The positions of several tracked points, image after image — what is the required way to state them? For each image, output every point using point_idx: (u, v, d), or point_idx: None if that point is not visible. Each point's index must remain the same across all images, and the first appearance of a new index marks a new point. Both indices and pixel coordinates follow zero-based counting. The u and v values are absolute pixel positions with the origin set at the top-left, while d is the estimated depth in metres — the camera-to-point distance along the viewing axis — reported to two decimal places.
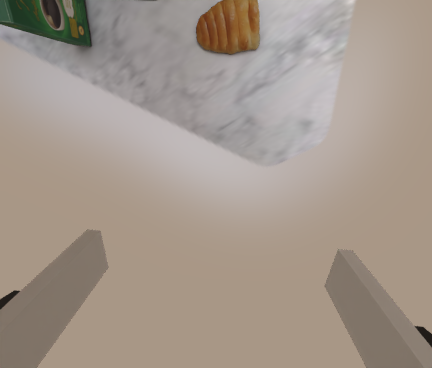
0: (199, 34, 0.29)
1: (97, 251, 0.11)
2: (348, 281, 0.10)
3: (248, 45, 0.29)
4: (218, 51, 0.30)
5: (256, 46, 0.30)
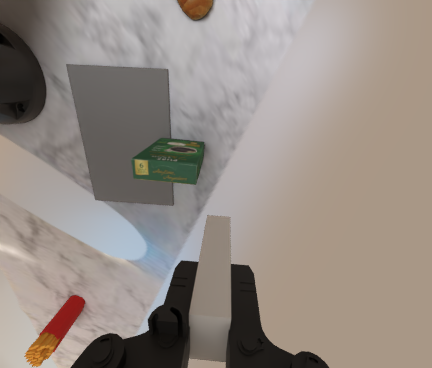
0: (199, 10, 0.27)
1: None
2: None
3: None
4: None
5: None
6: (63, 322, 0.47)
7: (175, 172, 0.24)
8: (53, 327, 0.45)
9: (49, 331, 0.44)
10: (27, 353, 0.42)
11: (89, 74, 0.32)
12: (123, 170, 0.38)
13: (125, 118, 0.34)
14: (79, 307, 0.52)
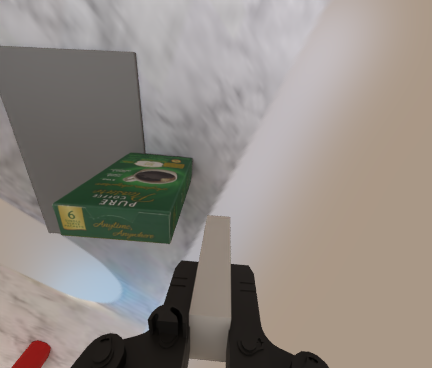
0: None
1: None
2: None
3: None
4: None
5: None
6: None
7: (132, 226, 0.13)
8: None
9: None
10: None
11: (19, 60, 0.21)
12: None
13: (78, 125, 0.24)
14: (42, 357, 0.42)
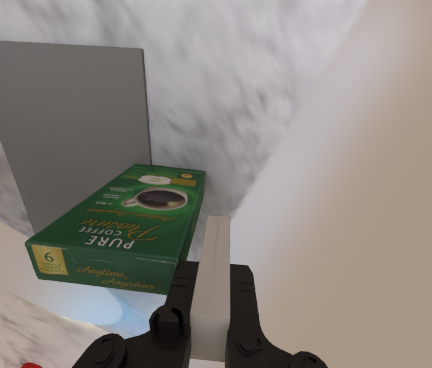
0: None
1: None
2: None
3: None
4: None
5: None
6: None
7: (127, 274, 0.10)
8: None
9: None
10: None
11: (6, 57, 0.18)
12: None
13: (75, 132, 0.21)
14: None
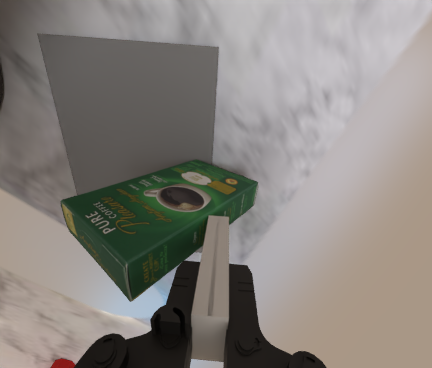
0: None
1: None
2: None
3: None
4: None
5: None
6: None
7: (100, 256, 0.11)
8: None
9: None
10: None
11: (80, 53, 0.18)
12: None
13: (141, 128, 0.21)
14: None
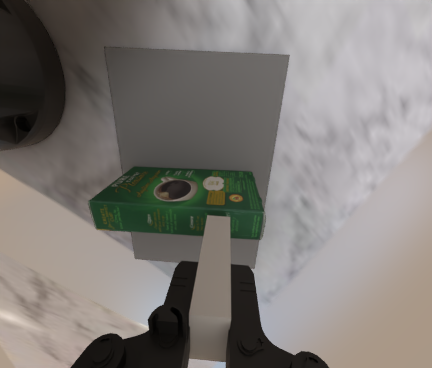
0: None
1: None
2: None
3: None
4: None
5: None
6: None
7: None
8: None
9: None
10: None
11: (144, 65, 0.18)
12: None
13: (199, 140, 0.20)
14: None
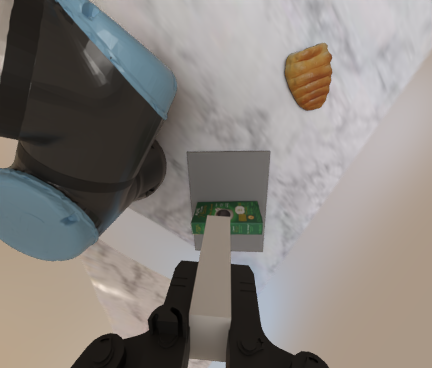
0: (316, 106, 0.33)
1: None
2: None
3: (329, 53, 0.30)
4: None
5: (326, 45, 0.30)
6: None
7: None
8: None
9: None
10: None
11: (204, 158, 0.39)
12: None
13: (230, 188, 0.41)
14: None
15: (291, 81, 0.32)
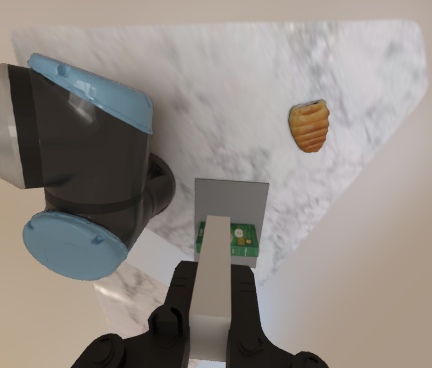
0: (314, 150, 0.38)
1: None
2: None
3: (328, 110, 0.35)
4: (325, 134, 0.37)
5: (325, 102, 0.35)
6: None
7: None
8: None
9: None
10: None
11: (210, 185, 0.44)
12: None
13: (231, 212, 0.46)
14: None
15: (294, 129, 0.37)
